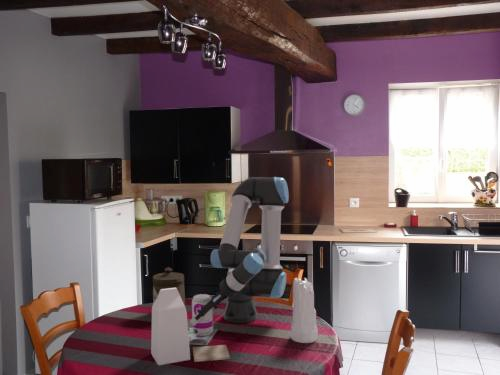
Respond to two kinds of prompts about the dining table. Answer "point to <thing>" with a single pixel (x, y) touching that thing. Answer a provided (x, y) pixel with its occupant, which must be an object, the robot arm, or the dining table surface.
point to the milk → (169, 328)
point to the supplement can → (206, 322)
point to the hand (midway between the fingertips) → (197, 319)
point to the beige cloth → (210, 353)
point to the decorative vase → (303, 313)
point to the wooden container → (168, 283)
